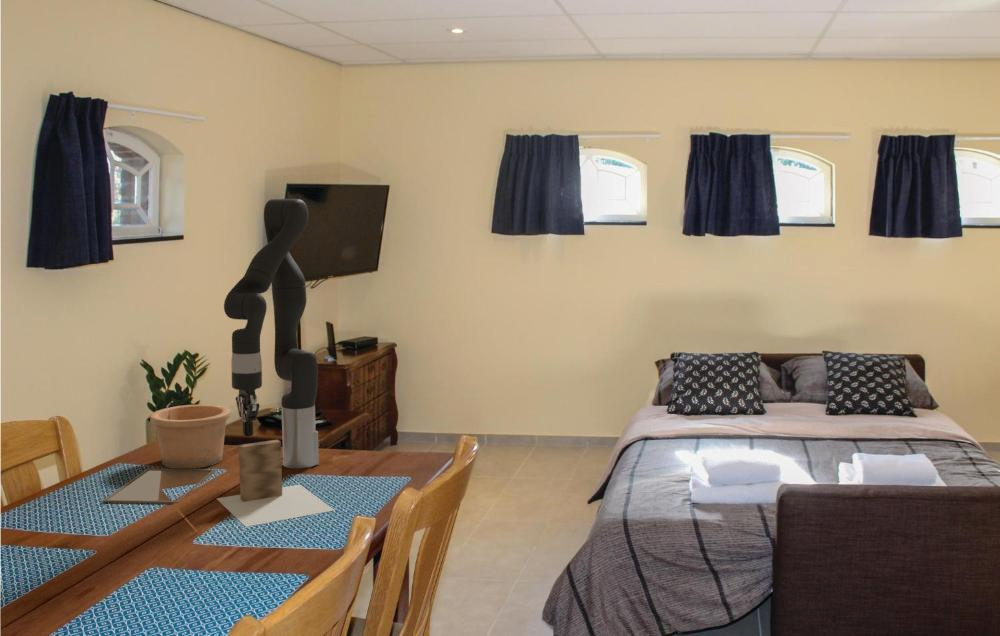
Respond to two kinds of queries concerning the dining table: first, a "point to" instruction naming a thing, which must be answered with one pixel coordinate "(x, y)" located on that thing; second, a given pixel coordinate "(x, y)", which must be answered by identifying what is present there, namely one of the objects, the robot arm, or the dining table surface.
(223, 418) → the pottery
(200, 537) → the dining table surface
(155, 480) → the picture frame
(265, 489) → the walnut tile
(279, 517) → the mat
